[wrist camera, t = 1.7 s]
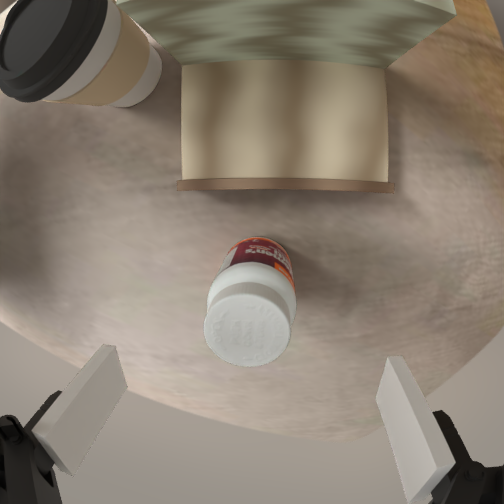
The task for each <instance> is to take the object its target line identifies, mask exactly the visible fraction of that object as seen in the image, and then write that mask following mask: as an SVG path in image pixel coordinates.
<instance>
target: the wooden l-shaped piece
mask: <svg viewBox="0 0 504 504" xmlns="http://www.w3.org/2000/svg"><path fill="white" fill-rule="evenodd" d="M116 5H117V6H118V7H119V8H121V9H122V10H123V11H124V12H125V13H126V14H127V15H129V16H130V17H131V18H132V19H133V20H134V21H135V22H136V23H138V24H139V25H140V26H141V27H142V28H143V29H144V30H145V31H146V32H147V33H148V34H150V35H151V36H152V37H153V38H154V39H155V40H156V41H157V42H158V43H159V44H160V45H161V46H162V47H163V48H164V49H165V50H166V51H168V52H169V53H170V54H171V55H172V56H173V57H174V58H175V59H176V60H177V61H178V62H179V63H180V64H181V65H182V86H181V149H182V180H178V181H177V191H189V190H223V189H304V190H338V191H360V192H378V193H393V194H394V183H389V182H388V111H387V93H386V79H385V68H386V67H388V66H389V65H390V64H392V63H393V62H394V61H395V60H397V59H398V58H399V57H401V56H402V55H403V54H405V53H406V52H407V51H408V50H410V49H411V48H412V47H414V46H415V45H416V44H418V43H419V42H420V41H422V40H423V39H424V38H426V37H427V36H429V35H430V34H431V33H433V32H434V31H435V30H437V29H438V28H440V27H441V26H442V25H444V24H445V23H447V22H448V21H449V20H451V19H452V18H454V17H455V16H457V14H456V10H455V7H454V3H453V0H117V2H116Z"/></svg>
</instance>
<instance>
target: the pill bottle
mask: <svg viewBox="0 0 504 504" xmlns="http://www.w3.org/2000/svg"><path fill="white" fill-rule="evenodd" d="M296 309H297V300H296V294H295V285H294V279H293V273H292V266H291V262H290V258H289V256H288V254H287V252H286V251H285V250H284V248H283V247H282V246H281V245H279V244H278V243H277V242H275V241H273V240H271V239H268V238H265V237H250V238H246V239H244V240H242V241H240V242H238V243H237V244H235V245H234V246H233V247H232V248H231V250H230V251H229V252H228V254H227V256H226V258H225V260H224V261H223V264H222V265H221V267H220V270H219V272H218V274H217V275H216V277H215V279H214V281H213V283H212V285H211V288H210V290H209V293H208V298H207V310H208V311H207V314H206V317H205V320H204V326H203V329H204V336H205V339H206V342H207V344H208V346H209V347H210V349H211V350H212V351H213V352H214V353H215V354H216V355H217V356H218V357H220V358H221V359H222V360H224V361H226V362H228V363H230V364H233V365H237V366H242V367H256V366H261V365H264V364H267V363H270V362H272V361H273V360H275V359H276V358H278V357H279V356H280V355H281V354H282V353H283V352H284V350H285V349H286V347H287V345H288V343H289V340H290V336H291V325H292V323H293V321H294V318H295V315H296Z"/></svg>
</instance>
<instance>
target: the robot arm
mask: <svg viewBox="0 0 504 504" xmlns="http://www.w3.org/2000/svg"><path fill="white" fill-rule="evenodd" d="M126 389H127V383H126V380H125V377H124V374H123V371H122V367H121V364H120V360H119V357H118V353H117V350H116V346H112V345H106V344H103V345H102V346H101V347H100V348H99V350H98V351H97V352H96V353H95V354H94V355H93V356H92V358H91V359H90V360H89V361H88V362H87V363H86V365H85V366H84V367H83V368H82V369H81V370H80V372H79V373H78V374H77V375H76V376H75V377H74V379H73V380H72V381H71V382H70V383H69V385H68V386H67V387H66V388H65V389H64V391H63V392H62V391H57V392H55V393H54V394H52V395H50V397H49V398H48V399H47V400H46V401H45V402H44V404H43V405H42V406H41V407H40V410H38V411H37V412H36V413H35V414H34V416H33V417H32V418H31V419H30V421H29V422H28V423H27V424H26V426H25V427H24V428H23V427H22V425H21V424H20V422H19V421H18V419H17V418H16V417H15V416H13V415H5V416H2V417H0V504H62V500H61V497H60V493H59V489H58V486H57V481H56V477H55V473H54V470H53V468H52V466H53V465H54V463H55V464H56V466H57V467H58V468H59V469H60V470H61V471H62V472H65V473H67V474H69V475H71V476H75V474H76V472H77V470H78V469H79V467H80V465H81V463H82V462H83V460H84V458H85V456H86V455H87V453H88V451H89V450H90V448H91V446H92V445H93V443H94V441H95V439H96V438H97V436H98V434H99V433H100V431H101V429H102V428H103V426H104V424H105V423H106V421H107V419H108V418H109V416H110V415H111V413H112V411H113V410H114V408H115V406H116V405H117V403H118V402H119V400H120V398H121V396H122V395H123V393H124V392H125V390H126ZM375 399H376V402H377V405H378V408H379V411H380V414H381V417H382V420H383V423H384V426H385V429H386V432H387V435H388V438H389V441H390V444H391V447H392V451H393V454H394V457H395V461H396V464H397V467H398V471H399V474H400V478H401V481H402V485H403V489H404V492H405V496H406V500H407V503H408V504H410V503H413V502H417V501H421V500H424V499H425V498H426V497H427V496H428V495H429V494H430V493H431V494H432V497H433V499H432V500H431V501H430V502H429V503H428V504H504V465H503V466H499V467H488V468H487V467H484V466H483V465H482V464H481V463H479V462H477V461H472V459H471V458H470V456H469V454H468V452H467V450H466V447H465V446H464V444H463V441H462V439H461V438H460V436H459V435H458V432H457V430H456V428H454V424H453V422H452V420H451V419H450V417H449V416H448V415H447V414H446V413H445V412H443V411H442V410H440V411H435V412H432V411H431V409H430V407H429V405H428V403H427V401H426V399H425V397H424V395H423V393H422V391H421V390H420V388H419V386H418V384H417V382H416V380H415V378H414V376H413V375H412V373H411V371H410V369H409V367H408V366H407V364H406V362H405V360H404V358H403V357H402V355H400V356H389V357H387V360H386V364H385V368H384V371H383V375H382V378H381V382H380V385H379V388H378V391H377V395H376V398H375Z"/></svg>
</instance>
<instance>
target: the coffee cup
mask: <svg viewBox="0 0 504 504" xmlns="http://www.w3.org/2000/svg"><path fill="white" fill-rule="evenodd" d="M161 72H162V61H161V58H160V56H159V54H158V52H157V51H156V50H155V49H154V48H153V47H152V45H151V44H150V43H149V42H148V39H147V37H146V36H145V34H144V33H143V32H142V31H141V30H140V28H139V27H138V26H137V25H136V24H135V23H134V21H133V20H132V19H131V18H130V17H129V16H128V15H127V14H126V13H125V12H124V11H123V10H122V9H121V8H119V7H118V6H117V5H116V1H115V0H18V1H17V3H16V4H15V5H14V6H13V7H12V8H11V10H10V11H9V13H8V15H7V17H6V20H5V24H4V28H3V30H2V32H1V35H0V88H1V90H2V91H3V93H5V94H6V95H7V96H9V97H13V98H15V99H16V100H18V101H21V102H35V101H38V100H43V101H46V102H51V103H68V104H81V105H92V106H102V105H105V106H113V107H121V108H122V107H130V106H133V105H135V104H137V103H139V102H141V101H142V100H144V99H145V98H146V97H147V96H148V95H149V94H150V93H151V92H152V91H153V90H154V88H155V87H156V85H157V84H158V82H159V79H160V76H161Z"/></svg>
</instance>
